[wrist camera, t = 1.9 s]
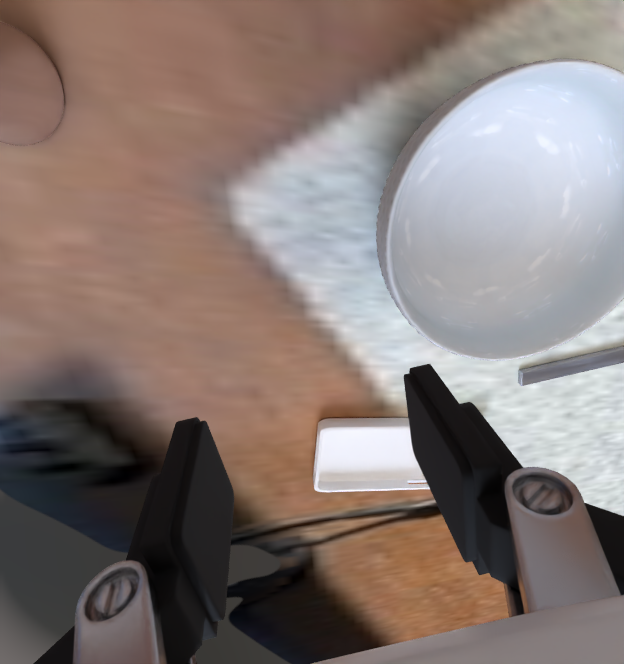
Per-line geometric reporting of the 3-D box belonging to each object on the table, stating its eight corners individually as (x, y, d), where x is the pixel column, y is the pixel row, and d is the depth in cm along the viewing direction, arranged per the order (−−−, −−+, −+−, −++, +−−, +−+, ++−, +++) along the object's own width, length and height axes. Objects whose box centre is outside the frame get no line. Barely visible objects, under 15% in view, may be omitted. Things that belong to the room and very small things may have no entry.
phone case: (482, 416, 38) (318, 417, 36) (489, 425, 36) (320, 427, 34) (463, 477, 41) (312, 481, 39) (470, 488, 39) (313, 493, 38)
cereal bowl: (338, 308, 31) (357, 352, 25) (388, 50, 25) (432, 21, 18) (538, 329, 34) (601, 373, 28) (633, 102, 27) (744, 92, 21)
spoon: (519, 354, 35) (524, 358, 34) (717, 308, 35) (726, 312, 35) (517, 397, 37) (522, 403, 36) (705, 354, 37) (714, 358, 37)
